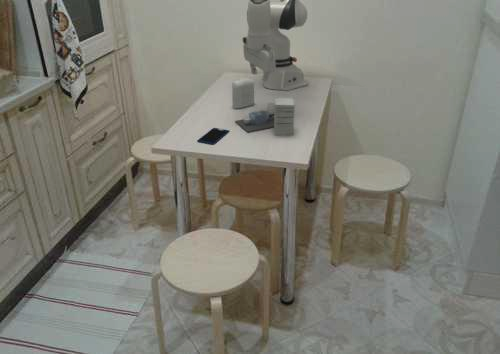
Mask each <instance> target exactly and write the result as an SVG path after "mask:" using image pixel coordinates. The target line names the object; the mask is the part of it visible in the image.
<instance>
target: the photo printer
mask: <svg viewBox="0 0 500 354" xmlns="http://www.w3.org/2000/svg"><path fill="white" fill-rule="evenodd" d="M231 85H232V87H231V89H232V90H231V91H232V94H231V96H232V97H231V99H232V108H233V109H236V110H237V109H243V108H247V107H251V106H254V105H255V80H254V78H253V79H252V78H250V77H249V78H248V77H243V78H240V79H237V80H235V81H233V83H232V84H231Z"/></svg>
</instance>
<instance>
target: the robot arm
mask: <svg viewBox="0 0 500 354" xmlns="http://www.w3.org/2000/svg"><path fill="white" fill-rule="evenodd" d="M247 5H248V6H247V11H246V19H247V20H246V21H247V26H248V29H247V30H248V31H247V35H246V36H242V43H243V56H244V60H245V61H247V62H248V63H249V67H250V73H251V74H252V75H257V73H258V70H257V68H258V69H259V70H261V71H262V72H263V75H262V76H261V77H262V78H261V80H262V82H263V84H262V86H263V87H264V88H266V89H269V90H274V91H275V90H276V91H283V92H284V91H285V92H288V91H291V90H295V89H299V88H302V87H306V86H308V85H309V81H308V80H307V79H305V76H304V72H303V71H302V69H300V67H298V66H296V64H294V63H297V62H298V61H297V60H298V59H297V57H294V56H291V41H290V39H289V37H288V36H287V35H285V34H283V33H282V32H281V31H280V30H286V31H289V30H291V29H293V28H294V29H295V28H299V27H300V28H301V27H303V26H304V25H305V23H306V22H307V19H308V10H307V8H306V5H304V4H303V3H302V2H301V1H300V0H280V1H271V0H248V4H247Z"/></svg>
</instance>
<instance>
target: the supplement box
mask: <svg viewBox="0 0 500 354" xmlns="http://www.w3.org/2000/svg"><path fill="white" fill-rule="evenodd" d="M273 117H274V128H273V130H274V135H275V136H294V128H295V127H294V123H295V102H294V97H293V98H292V97H275V98H274V116H273Z"/></svg>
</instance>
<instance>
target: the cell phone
mask: <svg viewBox="0 0 500 354" xmlns="http://www.w3.org/2000/svg"><path fill="white" fill-rule="evenodd" d="M229 133H230V130H229V129H224V128H217V127H213V128H211V129H209V130H208V131H207V132H206V133H205V134H204V135H202V136H201V137H200V138H199V139H197V141H196V142H197V143H199V144H200V143H201V144H204V145H205V144H206V145H209V146H210V145H211V146H214V145H216V144H217V143H218V142H219V141H221V140H222V139H223V138H224V137H225V136H226V135H228V134H229Z"/></svg>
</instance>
